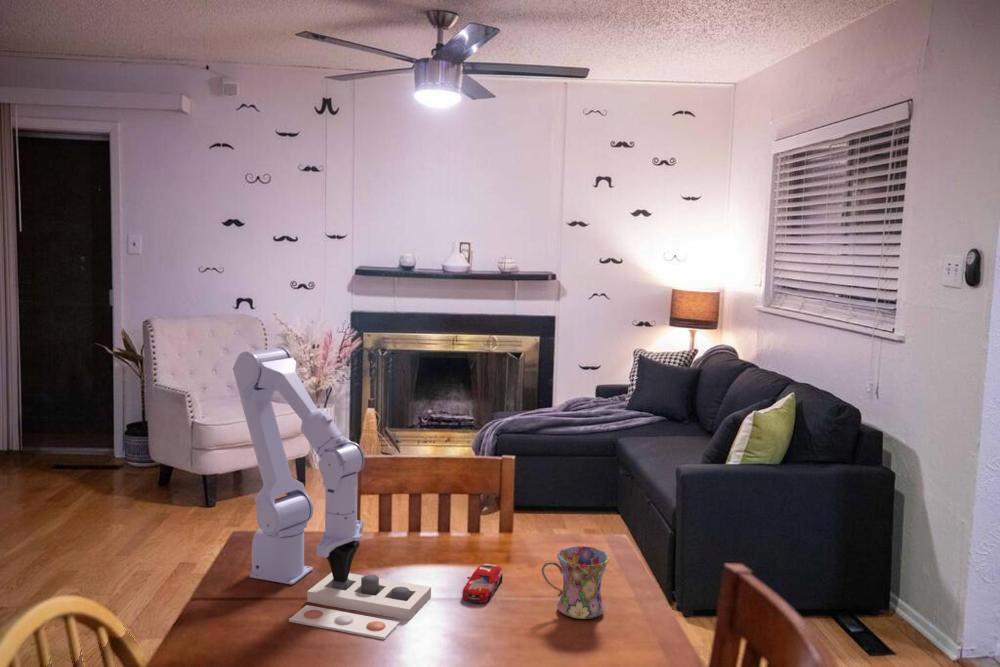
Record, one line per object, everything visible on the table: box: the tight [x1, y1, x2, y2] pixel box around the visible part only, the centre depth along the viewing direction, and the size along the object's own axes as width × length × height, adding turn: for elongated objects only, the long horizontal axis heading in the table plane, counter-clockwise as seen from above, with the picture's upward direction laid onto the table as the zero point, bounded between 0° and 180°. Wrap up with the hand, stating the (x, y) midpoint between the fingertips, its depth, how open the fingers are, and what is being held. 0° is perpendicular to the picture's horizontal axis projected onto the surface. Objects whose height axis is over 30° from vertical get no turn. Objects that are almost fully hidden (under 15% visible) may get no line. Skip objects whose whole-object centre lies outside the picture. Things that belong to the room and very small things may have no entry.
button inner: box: [332, 579, 349, 591], centre depth 163 cm, size 3×3×2 cm
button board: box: [306, 572, 432, 621], centre depth 162 cm, size 20×10×2 cm, turn 73°
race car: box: [461, 563, 504, 603], centre depth 167 cm, size 13×5×4 cm, turn 163°
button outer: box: [391, 587, 409, 601], centre depth 160 cm, size 3×3×2 cm
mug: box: [541, 545, 610, 620], centre depth 159 cm, size 12×9×11 cm
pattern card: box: [288, 604, 400, 641], centre depth 152 cm, size 18×6×1 cm, turn 73°
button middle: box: [361, 574, 380, 596], centre depth 161 cm, size 3×3×2 cm
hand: (340, 580), depth 163 cm, fingers closed, pressing on button inner
